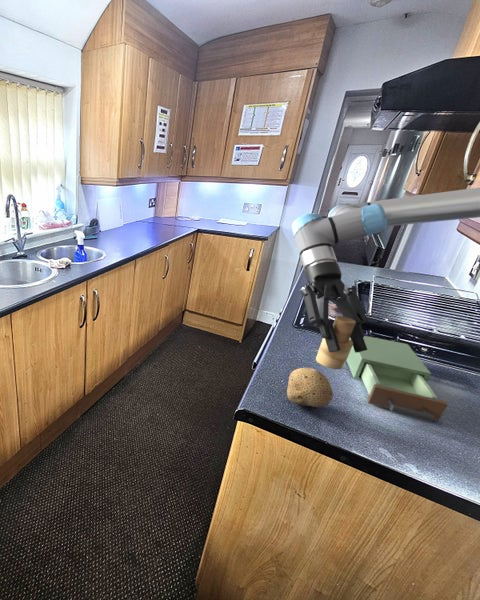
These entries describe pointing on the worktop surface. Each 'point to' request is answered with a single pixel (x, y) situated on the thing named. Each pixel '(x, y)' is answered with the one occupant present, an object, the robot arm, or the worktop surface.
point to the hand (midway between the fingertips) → (347, 351)
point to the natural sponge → (309, 388)
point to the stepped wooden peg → (343, 333)
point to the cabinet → (386, 357)
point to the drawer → (401, 392)
